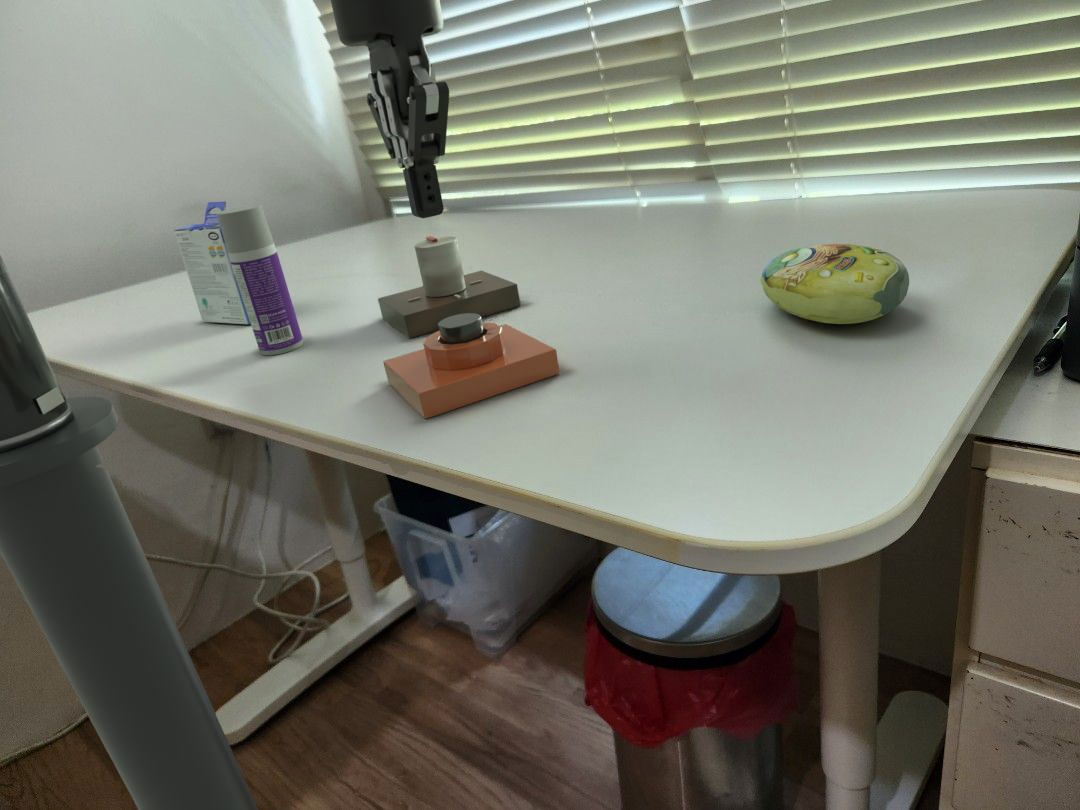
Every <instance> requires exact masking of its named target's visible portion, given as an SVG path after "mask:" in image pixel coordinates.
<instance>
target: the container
mask: <svg viewBox="0 0 1080 810" xmlns="http://www.w3.org/2000/svg"><path fill="white" fill-rule="evenodd" d="M263 208H264V207H263V205H262V204H261V203H257V204H256V203H255V204H248V205H241V206H237V207H236V206H235V207H231V208H228V209H225V210H224V211H221V210H220V211H218V212H216V214H217V218H218V221H219V224H220V228H221V231H222V234H223V238H224V241H225V245H226V248H227V251H228V255H229V258H230V261H231V265H232V268H233V271H234V274H235V277H236V280H237V283H238V286H239V289H240V292H241V295H242V298H243V301H244V305H245V308H246V311H247V314H248V317H249V320H250V325H251V329H252V332H253V335H254V338H255V341H256V344H257V347H258V350H259V354H261V355H263V356H276V355H280V354H281V355H282V354H285V353H288V352H292V351H295V350H297V349H298V348H300V347H302V346H303V344H304V338H303V335H302V332H301V329H300V325H299V321H298V317H297V315H296V312H295V308H294V305H293V304H294V303H293V301H292V298H291V294H290V292H289V288H288V283H287V281H286V277H285V274H284V270H283V268H282V264H281V261H280V258H279V254H278V251H277V247H276V245H275V242H274V239H273V236H272V232H271V229H270V227H269V223H268V221H267V218H266V215H265V211H264V209H263Z"/></svg>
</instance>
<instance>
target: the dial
mask: <svg viewBox="0 0 1080 810" xmlns="http://www.w3.org/2000/svg"><path fill="white" fill-rule="evenodd" d="M457 239H458V238H457V237H455V236H439V237H434V236H431V235H429V236H426V237H425V240H422V241H419V242H417V243H416V244H414V251H415V255H416V260H417V264H418V268H419V273H420V277H421V282H422V286H423V287H424V292H425V295H426V296H428V297H442V296H448V295H452V294H456V293H458V292H461V291H463V290H464V289H465V288H466V284H465V279H464V275H465V274H464V269H463V265H462V259H461V253H460V248H459V244H458V240H457Z"/></svg>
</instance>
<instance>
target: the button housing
mask: <svg viewBox="0 0 1080 810" xmlns="http://www.w3.org/2000/svg"><path fill="white" fill-rule="evenodd" d="M482 324H483V330H484V336H482V337H481V338H479V339H477V340H474V341H470V342H467V343H461V344H453V345H450V344H442V340H441V335H440V331H439V330H437V331H434V332H433V333H432V334H430V335H428V336H426V338H425V340H424V342H423V343H422V345H423V348H422V349H419V350H415V351H412V352H409V353H406V354H402V355H398V356H395V357H393V358H389V359H385V360H383V362H382V363H383V367H384V370H385V375H386V379H387V382H388V385H389V386H390V387H392V388H393V390H395V391H396V393H398V394H399V395H400V396H401V397H402V398H403V399H404V400H405V402H407V403H408V404H409V405H410V406H411V407H412V408H413V409H414V410H415V411H416V412H417V413H418V414H419V415H420V416H421V417H422V418H424V420H427V419H431V418H433V417H436V416H438V415H441V414H444V413H448V412H451V411H453V410H456V409H459V408H462V407H466V406H468V405H471V404H474V403H477V402H479V401H482V400H485V399H489V398H492V397H495V396H498V395H501V394H503V393H506V392H510V391H512V390H515V389H518V388H521V387H523V386H527V385H530V384H533V383H536V382H539V381H542V380H544V379H547V378H550V377H553V376H556V375H559V374H560V372H561V371H560V367H559V359H558V353H557V349H556V348H554V347H552V346H551V345H549V344H546V343H545V342H542V341H540V340H538V339H537V338H534V337H532V336H530V335H528V334H526V333H524V332H523V331H521V330H519V329H516V328H515V327H512V326H511V325H508V324H506V323H505V324H501V325H499V324H497V323H494V322H485V321H482Z"/></svg>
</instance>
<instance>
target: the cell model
mask: <svg viewBox="0 0 1080 810" xmlns="http://www.w3.org/2000/svg"><path fill="white" fill-rule="evenodd" d="M760 284H761V286H762V289H763V292H764V294H765V295H766V297H767V298H768V299H769V300H770V301H771V303H773V304H774V305H775V306H776V307H778V308H780V309H781V310H783V311H784V312H787V313H788V314H791V315H794V316H795V317H798V318H802V319H804V320H810V321H813V322H818V323H823V324H833V325H850V324H851V325H853V324H859V323H865V322H870V321H873V320H876V319H879V318H881V317H884V316H885V315H887V314H889V313H891V312H892V311H893V310H894V309H896V308H897V307H899V305H901V303H902V302H903V301H904V300H905V298H906V297H907V295H908V291H909V287H910V275H909V272H908V269H907V267H906V266H905V264H904V263H903V262H902V261H901V259H899V258H897V257H896V256H894V255H893V254H891V253H890V252H887V251H885V250H882V249H879V248H875V247H871V246H864V245H857V244H849V243H828V244H827V243H826V244H819V245H811V246H804V247H799V248H795V249H791V250H789V251H785V252H782V253H781V254H779V255H777V256H775V257H774V258H773V259H771V260H770V261H769V262H768V263H767V264H766V265H765V267H764V268H763V270H762V273H761V275H760Z"/></svg>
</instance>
